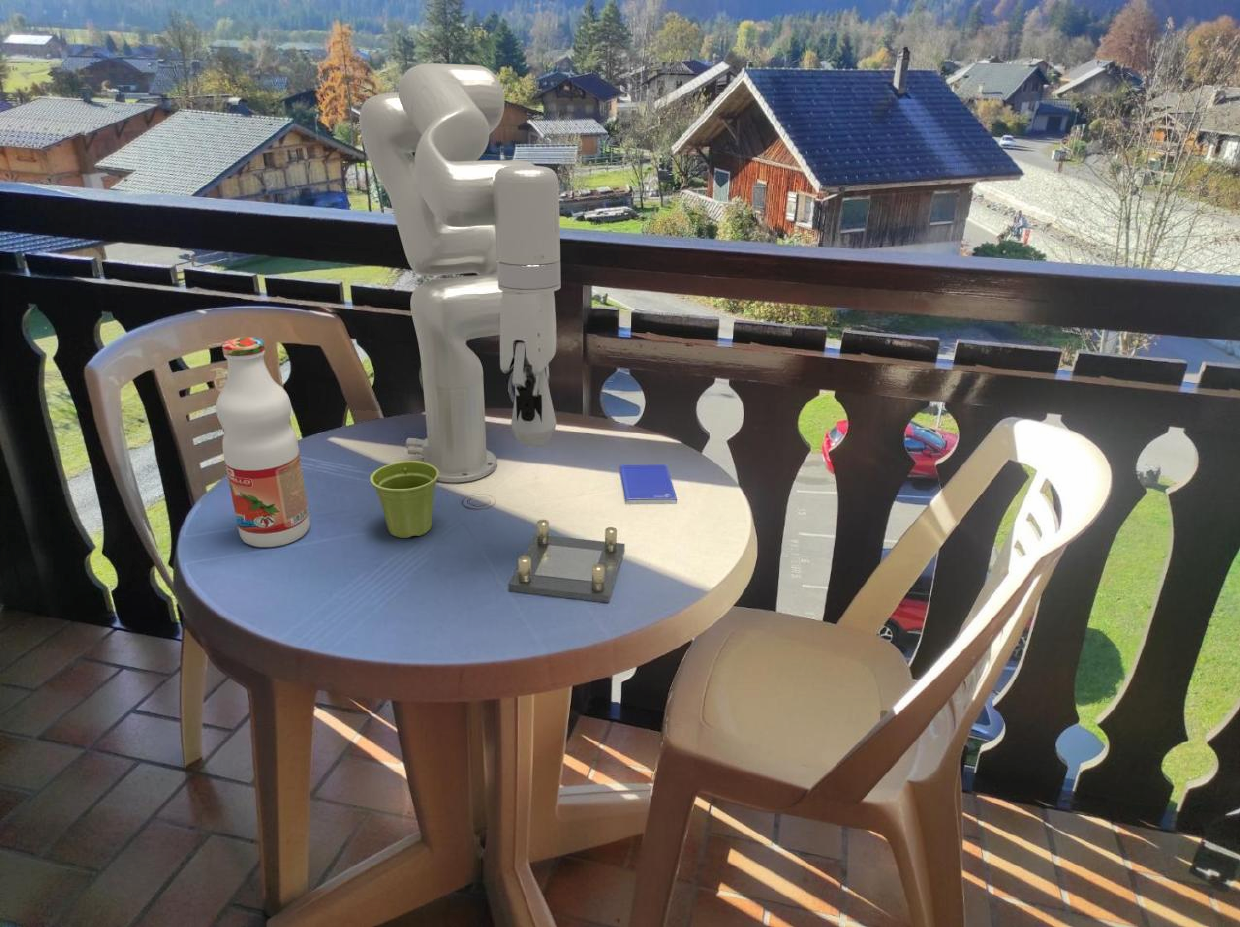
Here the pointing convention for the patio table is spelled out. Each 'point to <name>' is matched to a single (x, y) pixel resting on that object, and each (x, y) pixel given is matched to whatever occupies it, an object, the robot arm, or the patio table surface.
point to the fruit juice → (260, 450)
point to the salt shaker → (536, 419)
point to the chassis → (568, 566)
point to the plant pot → (406, 496)
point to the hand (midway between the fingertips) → (533, 418)
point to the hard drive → (647, 484)
